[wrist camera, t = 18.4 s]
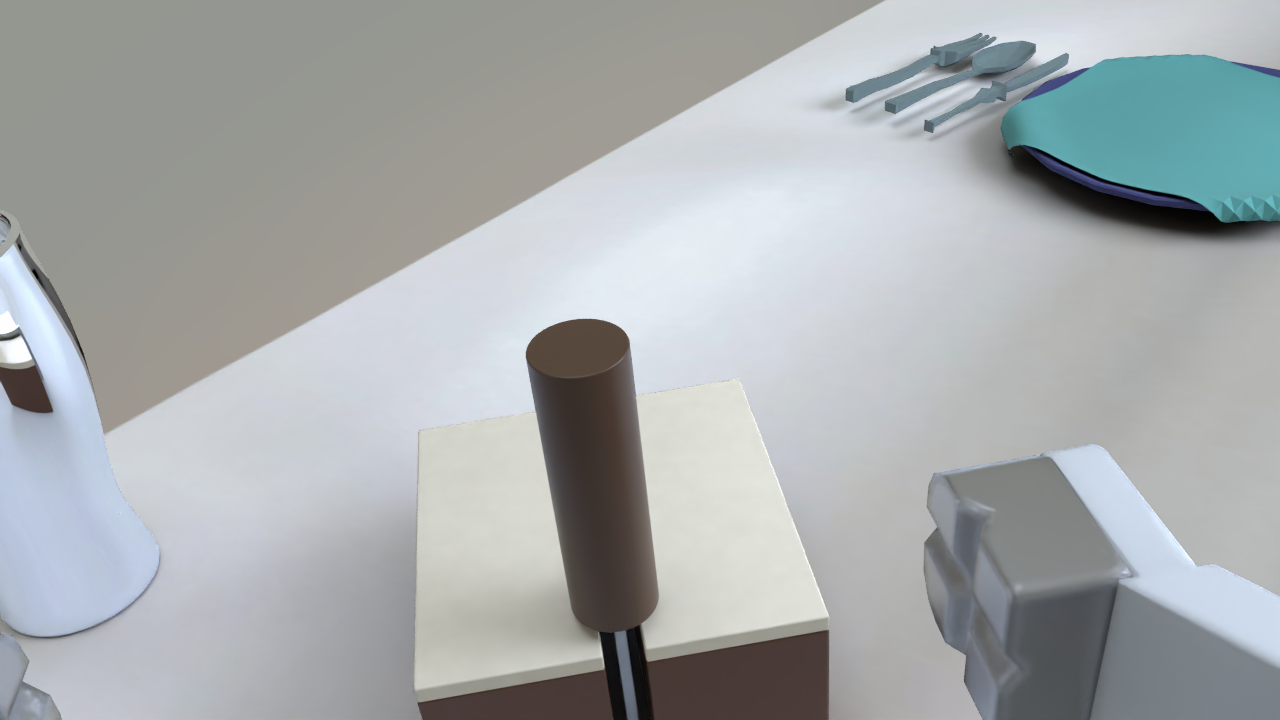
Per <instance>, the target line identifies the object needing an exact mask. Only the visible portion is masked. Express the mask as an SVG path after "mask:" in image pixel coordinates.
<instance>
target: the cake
mask: <svg viewBox="0 0 1280 720" xmlns="http://www.w3.org/2000/svg"><path fill="white" fill-rule="evenodd" d="M636 401H637V410H638V418H639V427H640V435H641V444H642V453H643V461H644V470H645V478H646V487H647V496H648V504H649V513H650V521H651V530H652V539H653V547H654V556H655V564H656V573H657V581H658V590H659V600H658V604H657V606H656V609H655V610H654V612H653V613H652V615H651V616H650V617H649V618H648V619H647V620H646V621H644V622H643V623H641V624H640V625H638V626H636V627H634V632H635V638H636V643H637V648H638V654H639V659H640V664H641V669H642V675H643V680H644V685H645V691H646V696H647V701H648V707H649V712H650V717H651V720H829V615H828V612H827V609H826V607H825V604H824V601H823V599H822V596H821V593H820V591H819V588H818V585H817V583H816V580H815V577H814V575H813V572H812V570H811V567H810V564H809V562H808V559H807V556H806V554H805V551H804V548H803V546H802V543H801V540H800V538H799V535H798V532H797V530H796V527H795V524H794V522H793V519H792V516H791V514H790V511H789V509H788V506H787V503H786V501H785V498H784V495H783V493H782V490H781V487H780V485H779V482H778V479H777V477H776V474H775V471H774V469H773V466H772V463H771V461H770V458H769V455H768V453H767V450H766V448H765V445H764V442H763V440H762V437H761V434H760V432H759V429H758V426H757V424H756V421H755V418H754V416H753V413H752V410H751V408H750V405H749V402H748V400H747V397H746V394H745V392H744V389H743V387H742V384H741V381H740V379H734V380H728V381H722V382H715V383H709V384H703V385H697V386H691V387H685V388H678V389H672V390H666V391H660V392H654V393H647V394H641V395H636ZM414 693H415V696H416V699H417V701H418V706H419V710H420V713H421V716H422V719H423V720H614V717H613V710H612V704H611V698H610V691H609V685H608V678H607V672H606V666H605V659H604V653H603V646H602V640H601V634H600V631H596V630H593V629H590V628H588V627H586V626H585V625H583V624H582V623H581V622H580V621H579V620H578V619H577V618H576V617H575V615H574V614H573V611H572V609H571V604H570V598H569V593H568V587H567V582H566V576H565V571H564V565H563V559H562V554H561V548H560V543H559V537H558V532H557V526H556V521H555V515H554V510H553V504H552V499H551V493H550V488H549V482H548V476H547V471H546V465H545V460H544V454H543V449H542V443H541V438H540V432H539V427H538V421H537V416H536V412H530V413H524V414H518V415H512V416H505V417H499V418H493V419H487V420H481V421H474V422H468V423H462V424H456V425H450V426H444V427H437V428H431V429H425V430H420V431H419V432H418V479H417V533H416V587H415V640H414Z"/></svg>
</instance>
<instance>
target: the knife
mask: <svg viewBox="0 0 1280 720" xmlns="http://www.w3.org/2000/svg"><path fill="white" fill-rule="evenodd" d="M526 360H527V366H528V371H529V377H530V382H531V388H532V393H533V399H534V405H535V410H536V416H537V421H538V427H539V432H540V438H541V443H542V449H543V454H544V460H545V465H546V471H547V476H548V482H549V488H550V493H551V499H552V504H553V510H554V515H555V521H556V526H557V532H558V537H559V543H560V548H561V554H562V559H563V565H564V571H565V576H566V582H567V587H568V593H569V598H570V604H571V609H572V611H573V614H574V615H575V617H576V618H577V619H578V620H579V621H580V622H581V623H582V624H583V625H585V626H586V627H588V628H590V629H593V630H596V631H601V632H612V637H613V643H614V649H615V655H616V661H617V667H618V673H619V679H620V685H621V691H622V697H623V703H624V709H625V715H626V720H640V719H639V712H638V705H637V698H636V691H635V684H634V677H633V671H632V664H631V657H630V650H629V643H628V636H627V630H629V629H632V628H634V627H636V626H638V625H640V624H641V623H643V622H644V621H646V620H647V619H648V618H649V617H650V616H651V615H652V613H653V612H654V610H655V609H656V606H657V604H658V600H659V590H658V581H657V573H656V564H655V556H654V547H653V539H652V530H651V521H650V513H649V504H648V496H647V487H646V478H645V470H644V461H643V453H642V444H641V435H640V427H639V418H638V410H637V401H636V392H635V384H634V375H633V367H632V358H631V350H630V341H629V338H628V336H627V334H626V333H625V332H624V331H623V330H622V329H621V328H620V327H618V326H616V325H615V324H612V323H610V322H607V321H603V320H597V319H576V320H570V321H565V322H561V323H558V324H555V325H553V326H550V327H548V328H546V329H545V330H543V331H541V332H540V333H538V334H537V335H536V336H535V337H534V338H533V339H532V340H531V342H530V343H529V345H528V347H527V350H526Z"/></svg>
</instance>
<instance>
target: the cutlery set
mask: <svg viewBox="0 0 1280 720" xmlns="http://www.w3.org/2000/svg"><path fill="white" fill-rule="evenodd" d="M981 36H982V33H979V34H977V35H975V36H973V37H971V38H968V39H966V40H963V41H959V42H955V43H951V44H948V45H945V46H942V47H935V46H934V49H933V48H931V53H930V55H928V56H925V57H923V58H921V59H919V60H918V61H916V62H914V63H912V64H911V65H909V66H907V67H905V68H903V69H900V70H898V71H895V72H892V73H890V74H887V75H884V76H881V77H877V78H873V79H869V80H867V81H864V82H862V83H860V84H857V85H854V86H850V87H849V88H847V89H846V100H847V101H850V102H853V103H854V102H857V101H859V100H860V99H862V98H864V97H866V96H868V95H870V94H872V93H874V92H876V91H879V90H882V89H885V88H888V87H890V86H893V85H895V84H897V83H900V82H902V81H904V80H906V79H909V78H911V77H913V76H915V75H916V74H918V73H919V72H921V71H922V70H924V69H925V68H927V67H929V66H931V65H932V64H936V65H940V66H947V65H950V64H953V63H956V62H958V61H959V60H961V59H963V58H965V57H967V56H969V55H970V54H972V53H973V52H975V51H977V50H979V49H981V48H983V47H986V46H988V45H990V44H991V43H992V42H994V41H995V40H996V37H992V38H990V39H988V38H989V35H985V36H984V37H982V38H980V37H981ZM979 38H980V39H979ZM977 39H978V40H977ZM987 39H988V40H987ZM985 40H987V41H985ZM1035 52H1036V44H1034V43H1030V42H1026V41H1017V42H1008V43H1001V44H998V45H995V46H992V47H989V48H986V49H983V50H982V51H980V52H979V53H978V54H976V55H975V56H973V57H972V70H971V71H967V72H963V73H960V74H957V75H954V76H951V77H948V78H945V79H942V80H938V81H935V82H932V83H930V84H927V85H925V86H922V87H920V88H917V89H915V90H912V91H910V92H908V93H905V94H903V95H900V96H898V97H895V98H892V99H889V100H887V101H885V111H888V112H891V113H894V114H896V113H898V112H900V111H901V110H903V109H905V108H906V107H908V106H910V105H912V104H913V103H915V102H917V101H919V100H921V99H923V98H925V97H927V96H929V95H931V94H933V93H935V92H937V91H939V90H941V89H943V88H946V87H949V86H951V85H954V84H956V83H958V82H960V81H963V80H965V79H967V78H970V77H973V76H976V75H979V74H982V73H985V72H987V73H1002V72H1007V71H1010V70H1013V69H1016V68H1018V67H1019V66H1021V65H1022V64H1024V63H1025V62H1026V61H1027V60H1029V59H1030V58H1031V57H1032V56H1033V54H1034V53H1035ZM1068 58H1069V54H1067V53H1065V54H1063V55H1061V56H1059V57H1057V58H1055V59H1053V60H1051V61H1049V62H1047V63H1045V64H1043V65H1041V66H1039V67H1037V68H1035V69H1033V70H1031V71H1029V72H1026V73H1024V74H1022V75H1020V76H1018V77H1016V78H1014V79H1012V80H1010V81H1008V82H1006V83H1004V84H1002V83H999V82H995V81H992V87H991V88H989V89H988V88H981V90H980V91H979V92H978V93H977V94H976V96H975V97H974V98H973V99H971V100H969V101H967V102H965V103H963V104H961V105H959V106H958V107H956V108H955V109H953V110H952V111H950V112H948V113H946V114H943V115H941V116H939V117H936V118H934V119H932V120H930V121H927V120H925V125H924V130H925V131H928V132H931V133H933V131H934V127H936V126H937V125H939V124H941V123H942V122H944V121H946V120H948V119H949V118H951V117H953V116H954V115H956V114H958V113H961V112H963V111H965V110H967V109H969V108H971V107H973V106H975V105H977V104H979V103H989V102H994V101H995V99H1000V100H1003V101H1006V93H1007V92H1010V91H1013V90H1015V89H1018V88H1020V87H1023V86H1026V85H1028V84H1030V83H1032V82H1035V81H1037V80H1039V79H1041V78H1043V77H1045V76H1047V75H1049V74H1051V73H1053V72H1055V71H1057V70H1058V69H1060V68H1062V67H1064V66H1065V65H1066V64H1067V63H1068ZM1001 132H1002V135H1003V139H1004V141H1005V143H1006V145H1007V146H1008V150H1009V149H1011V148H1012V147H1013V146H1018V145H1022V146H1023V148H1024V149H1026V150H1027V151H1028V152H1029V153H1030V154H1032V155H1033V156H1034V157H1035V158H1036V159H1038V160H1039V161H1040V162H1041V163H1042V164H1044V165H1045V166H1046V167H1047V168H1048V169H1049V170H1051V171H1053V172H1056V173H1058V174H1060V175H1062V176H1064V177H1067V178H1069V179H1071V180H1073V181H1076V182H1078V183H1080V184H1082V185H1084V186H1087V187H1089V188H1091V189H1093V190H1095V191H1099V192H1103V193H1107V194H1111V195H1115V196H1119V197H1123V198H1127V199H1131V200H1135V201H1139V202H1143V203H1147V204H1150V205H1157V206H1166V207H1175V208H1184V209H1194V210H1203V211H1211V212H1212V213H1213V214H1214V215H1215V216H1216V217H1217V218H1218V219H1219V220H1220V221H1221V222H1226V223H1229V222H1236V221H1257V220H1265V221H1269V222H1271V221H1278V220H1280V70H1276V69H1271V68H1265V67H1259V66H1253V65H1247V64H1242V63H1236V62H1228V61H1226V60H1223V59H1219V58H1216V57H1212V56H1207V55H1189V54H1185V55H1166V56H1147V57H1139V56H1138V57H1129V58H1124V57H1121V58H1116V59H1106V60H1103V61H1101V62H1099V63H1097V64H1096V65H1094V66H1093V67H1090V68H1085V69H1081V70H1078V71H1075V72H1072V73H1070V74H1067V75H1064V76H1061V77H1058V78H1056V79H1053V80H1050V81H1047V82H1045V83H1044V84H1043V85H1041V86H1040V87H1039V88H1037V89H1036V90H1034V91H1033V92H1032V93H1030V94H1029V95H1028V96H1026V97H1025V98H1024V99H1022V101H1021V102H1019V103H1017V104H1015V105H1014V106H1013V107H1011V108H1010V109H1009V110H1008V112H1007V113H1006V114H1005V116H1004V117H1003V121H1002V125H1001ZM1009 155H1010V156H1011V157H1013V158H1014V159H1015V157H1014V156H1013V154H1012V153H1011V151H1010V150H1009Z"/></svg>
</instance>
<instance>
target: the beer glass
mask: <svg viewBox="0 0 1280 720" xmlns="http://www.w3.org/2000/svg"><path fill="white" fill-rule="evenodd" d="M159 559H160V553H159V547H158V544H157V541H156V539H155V538H154V536H153V534H152V533H151V531H150V530H149V529H148V527H147V526H146V525H145V524H144V522H143V521H142V520H141V519H140V517H139V516H138V515H137V514H136V512H135V511H134V510H133V509H132V507H131V506H130V505H129V503H128V502H127V500H126V499H125V497H124V496H123V494H122V492H121V490H120V488H119V486H118V484H117V482H116V479H115V476H114V474H113V471H112V468H111V464H110V460H109V456H108V452H107V448H106V444H105V439H104V434H103V429H102V424H101V420H100V415H99V411H98V407H97V402H96V397H95V393H94V388H93V385H92V381H91V378H90V374H89V371H88V367H87V364H86V360H85V357H84V353H83V351H82V348H81V346H80V343H79V341H78V338H77V336H76V334H75V331H74V329H73V326H72V324H71V321H70V319H69V317H68V315H67V313H66V311H65V309H64V307H63V305H62V303H61V301H60V299H59V297H58V295H57V293H56V291H55V289H54V287H53V286H52V284H51V282H50V280H49V278H48V276H47V275H46V273H45V271H44V269H43V267H42V266H41V264H40V262H39V261H38V259H37V257H36V255H35V254H34V252H33V250H32V249H31V247H30V245H29V244H28V242H27V240H26V238H25V236H24V234H23V232H22V231H21V229H20V225H19V223H18V221H17V220H16V218H15V217H14V216H12V215H11V214H9V213H7V212H5V211H2V210H0V614H1V616H2V618H3V620H4V621H5V622H6V623H7V624H8V625H9V626H10V627H11V628H12V629H14V630H16V631H17V632H20V633H22V634H25V635H30V636H37V637H52V636H61V635H66V634H71V633H75V632H78V631H82V630H84V629H87V628H90V627H92V626H95V625H97V624H99V623H101V622H103V621H105V620H107V619H109V618H111V617H112V616H114V615H116V614H117V613H119V612H120V611H122V610H123V609H124V608H126V607H127V606H128V605H129V604H131V603H132V602H133V601H134V600H135V599H136V598H137V597H138V596H139V595H140V594H141V593H142V592H143V591H144V590H145V588H146V587H147V586H148V585H149V583H150V582H151V580H152V578H153V577H154V575H155V573H156V570H157V568H158V564H159Z"/></svg>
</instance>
